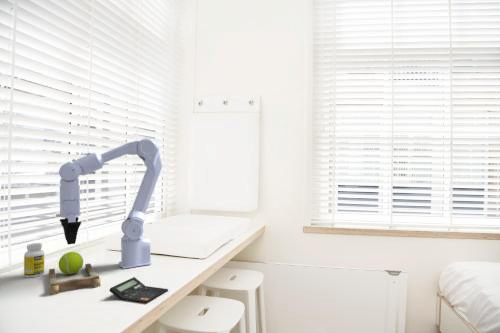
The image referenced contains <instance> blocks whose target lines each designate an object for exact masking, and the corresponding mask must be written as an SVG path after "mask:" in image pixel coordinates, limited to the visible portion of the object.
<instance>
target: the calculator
mask: <svg viewBox="0 0 500 333" xmlns="http://www.w3.org/2000/svg"><path fill="white" fill-rule="evenodd" d="M109 292H110V293H111V294H113V295H114V296H115V297H116V298H117V299H119V300H121V301H124V302H131V303H139V304H144V305H145V304H146V305H147V304H149V303H150V302H153V301H154V300H156V299H157V298H159V297H160V296H162V295H164V294H165V293H167V292H169V289H168V288H162V287H155V286H149V285H148V286H147V285H145V284H144V283H142V282H141V281H140V280H139V279H138V278H136V277H135V276H134V277H132V278H129V279H126V280H124V281H123V282H121V283H118V284H116V285H113V286H112V287H110V288H109Z"/></svg>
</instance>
